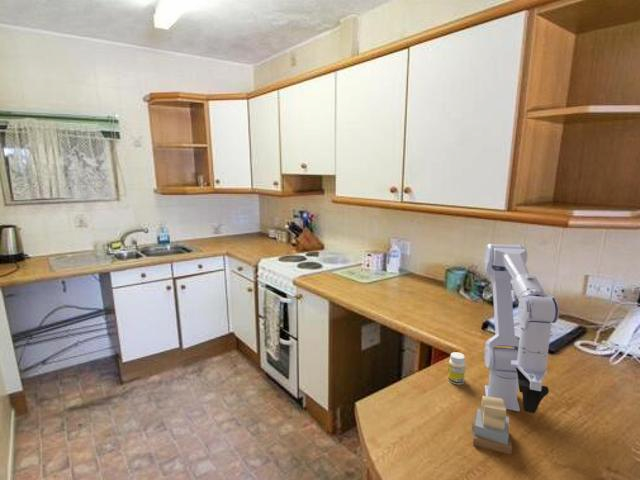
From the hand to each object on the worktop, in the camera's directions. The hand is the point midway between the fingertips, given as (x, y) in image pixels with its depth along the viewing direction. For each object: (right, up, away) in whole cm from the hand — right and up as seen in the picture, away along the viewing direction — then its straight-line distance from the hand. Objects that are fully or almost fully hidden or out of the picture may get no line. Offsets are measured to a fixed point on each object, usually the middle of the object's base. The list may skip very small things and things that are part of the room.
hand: (526, 401), depth 84 cm
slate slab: (-7, -8, +3) cm, 11 cm away
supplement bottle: (-6, -6, +27) cm, 28 cm away
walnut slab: (-7, -11, +3) cm, 13 cm away
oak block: (-7, -6, +2) cm, 9 cm away
